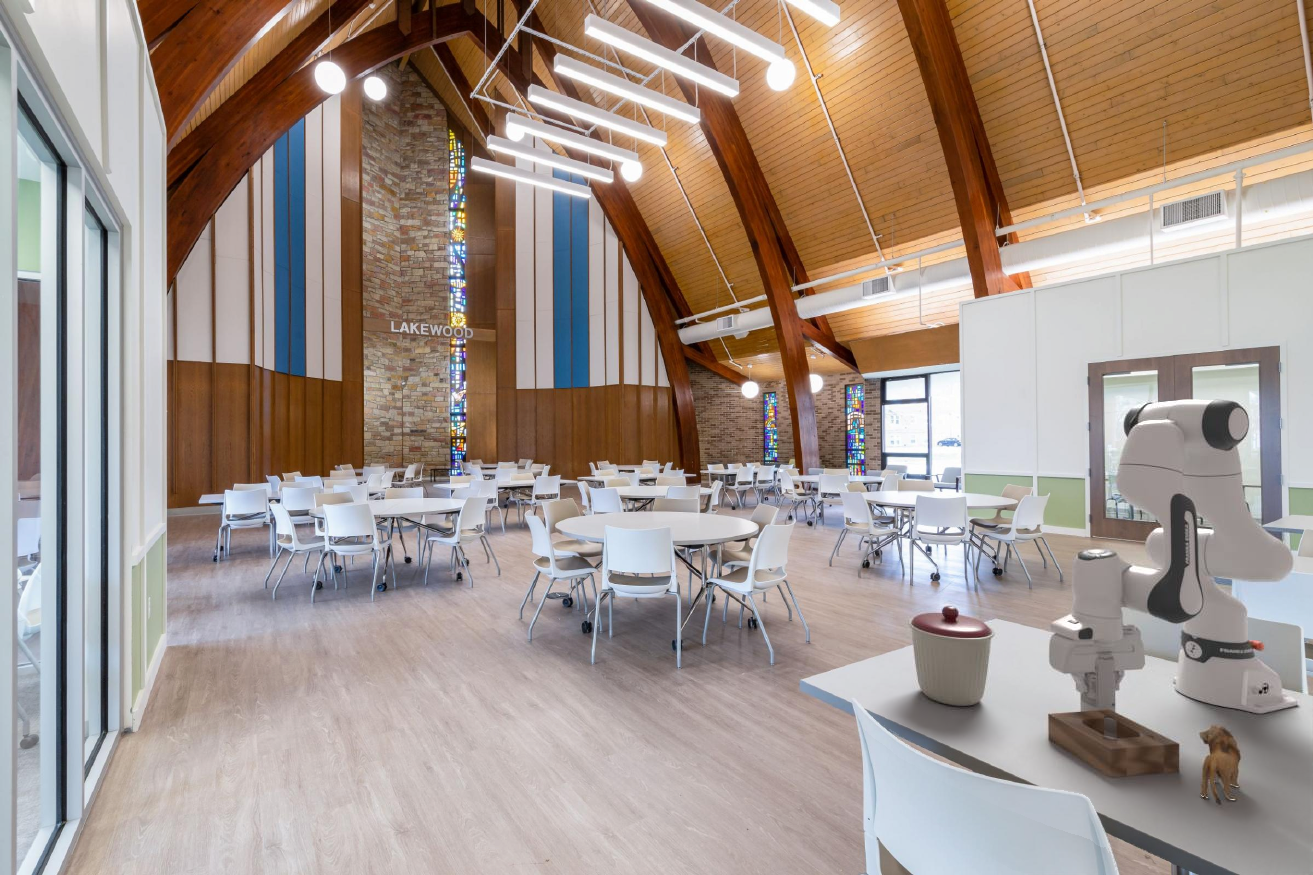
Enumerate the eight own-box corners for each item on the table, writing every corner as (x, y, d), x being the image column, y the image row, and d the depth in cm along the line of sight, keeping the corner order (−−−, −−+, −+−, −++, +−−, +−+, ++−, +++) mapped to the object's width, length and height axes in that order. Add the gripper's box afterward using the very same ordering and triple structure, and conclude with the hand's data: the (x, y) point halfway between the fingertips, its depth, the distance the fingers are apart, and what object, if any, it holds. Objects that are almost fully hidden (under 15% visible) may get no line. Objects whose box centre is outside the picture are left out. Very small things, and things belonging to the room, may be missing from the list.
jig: (1110, 734, 122) (1110, 709, 122) (1179, 771, 108) (1179, 743, 108) (1048, 738, 120) (1048, 713, 120) (1110, 777, 106) (1110, 748, 106)
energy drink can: (1121, 727, 125) (1121, 655, 125) (1089, 724, 126) (1088, 653, 126) (1106, 714, 130) (1105, 645, 131) (1075, 712, 132) (1074, 643, 132)
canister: (978, 684, 147) (978, 598, 147) (1007, 717, 129) (1007, 619, 129) (900, 679, 150) (900, 594, 150) (918, 710, 132) (918, 615, 133)
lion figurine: (1199, 767, 110) (1198, 717, 110) (1239, 778, 106) (1239, 726, 106) (1199, 802, 99) (1199, 747, 99) (1244, 816, 95) (1244, 759, 95)
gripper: (1126, 619, 133) (1126, 682, 133) (1043, 623, 130) (1043, 687, 130) (1153, 628, 127) (1154, 694, 127) (1067, 632, 124) (1067, 699, 124)
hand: (1097, 690), depth 128 cm, fingers closed on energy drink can, 6 cm apart
